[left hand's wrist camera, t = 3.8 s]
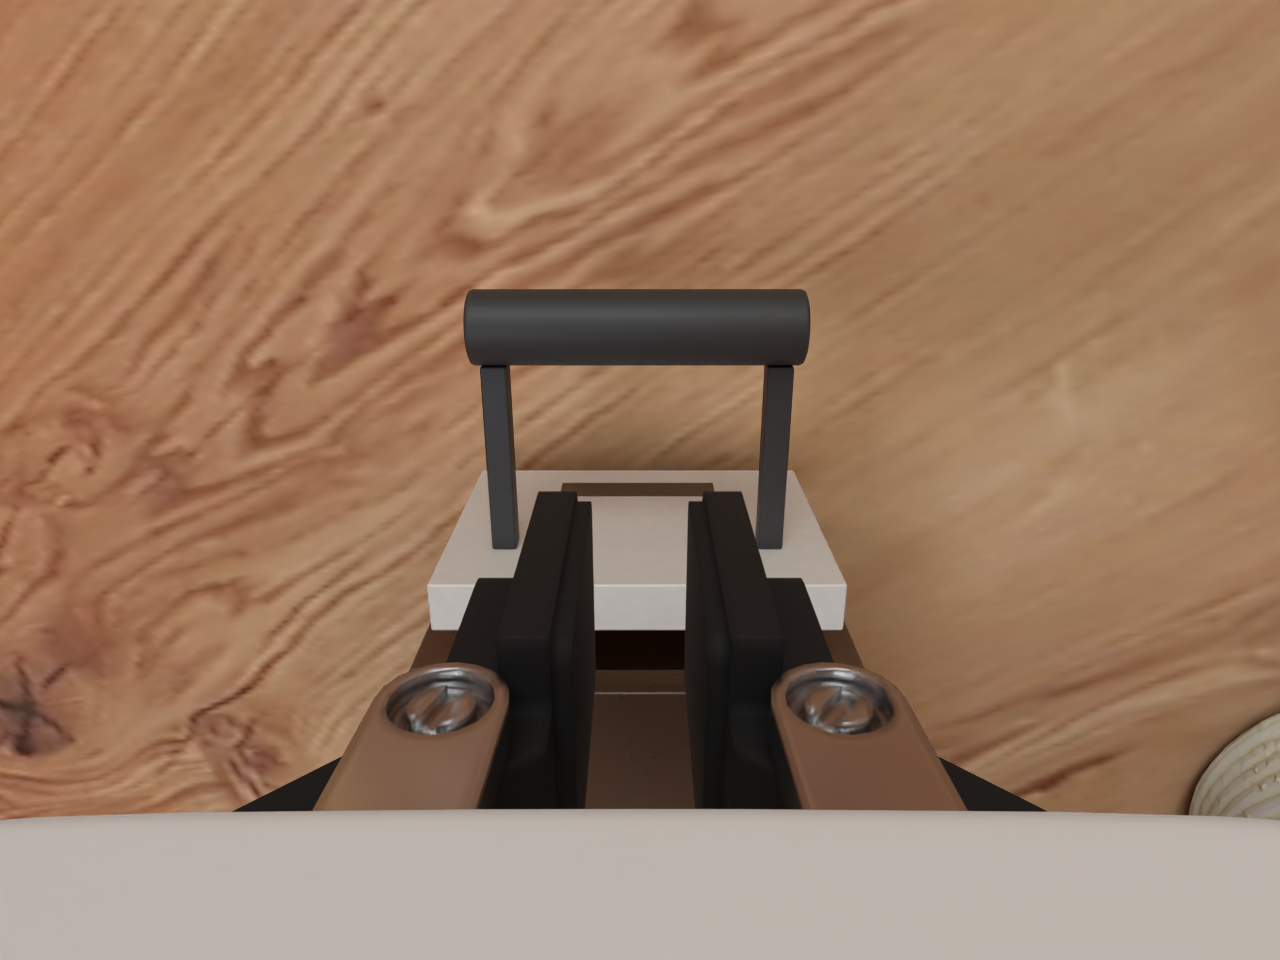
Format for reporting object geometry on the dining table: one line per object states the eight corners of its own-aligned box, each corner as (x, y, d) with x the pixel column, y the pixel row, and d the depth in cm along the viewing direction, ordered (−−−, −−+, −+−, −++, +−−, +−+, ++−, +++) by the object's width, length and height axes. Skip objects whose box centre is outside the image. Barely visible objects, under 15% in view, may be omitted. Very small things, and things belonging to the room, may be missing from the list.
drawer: (466, 260, 24) (397, 306, 17) (808, 260, 24) (875, 306, 17) (506, 822, 31) (469, 1013, 24) (769, 822, 31) (805, 1013, 24)
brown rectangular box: (472, 522, 28) (397, 693, 19) (803, 522, 28) (876, 692, 19) (500, 874, 33) (451, 1130, 25) (776, 874, 33) (824, 1130, 25)
